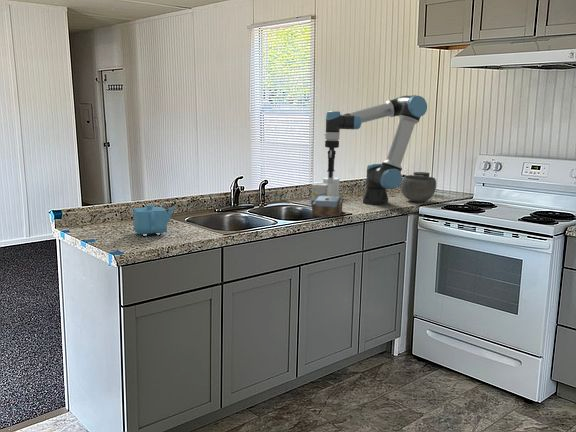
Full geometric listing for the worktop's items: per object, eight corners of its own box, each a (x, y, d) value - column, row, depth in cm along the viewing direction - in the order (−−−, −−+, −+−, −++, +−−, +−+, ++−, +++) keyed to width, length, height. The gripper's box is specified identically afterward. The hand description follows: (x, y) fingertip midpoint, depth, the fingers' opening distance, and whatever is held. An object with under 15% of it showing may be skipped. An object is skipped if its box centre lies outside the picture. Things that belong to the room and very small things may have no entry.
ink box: (325, 205, 323) (326, 185, 321) (310, 204, 324) (311, 184, 322) (327, 203, 331) (328, 183, 329) (313, 202, 333) (313, 182, 331)
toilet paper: (322, 198, 348) (322, 179, 345) (323, 195, 358) (323, 176, 356) (338, 199, 347) (339, 179, 344) (339, 196, 357) (339, 177, 354)
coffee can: (426, 193, 377) (427, 172, 374) (429, 195, 366) (431, 173, 364) (410, 192, 377) (412, 171, 374) (413, 195, 367) (415, 173, 364)
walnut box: (342, 211, 306) (342, 199, 305) (339, 217, 288) (339, 205, 287) (316, 209, 308) (316, 198, 307) (312, 215, 291) (312, 204, 290)
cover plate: (339, 202, 304) (339, 194, 303) (336, 207, 289) (336, 199, 288) (319, 201, 306) (319, 193, 305) (315, 206, 291) (315, 198, 290)
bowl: (397, 202, 336) (398, 177, 334) (403, 197, 355) (404, 174, 352) (432, 205, 329) (434, 179, 326) (437, 200, 348) (438, 175, 345)
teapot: (138, 239, 235) (137, 208, 232) (133, 231, 249) (132, 202, 246) (181, 236, 242) (181, 206, 239) (173, 228, 256) (173, 200, 253)
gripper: (326, 139, 312) (324, 181, 316) (323, 140, 299) (322, 184, 303) (340, 139, 310) (338, 182, 315) (338, 140, 298) (336, 185, 302)
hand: (330, 183), depth 309 cm, fingers closed
